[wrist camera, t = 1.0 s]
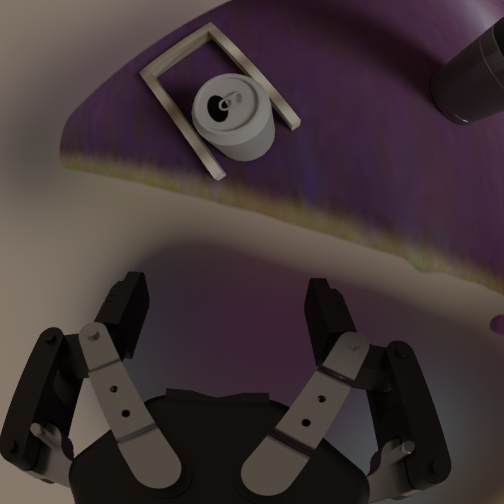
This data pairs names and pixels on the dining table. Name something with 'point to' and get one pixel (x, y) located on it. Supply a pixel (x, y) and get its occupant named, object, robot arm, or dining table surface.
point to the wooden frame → (185, 127)
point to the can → (235, 116)
